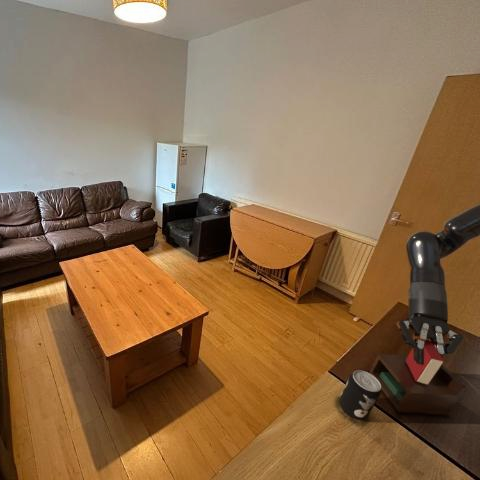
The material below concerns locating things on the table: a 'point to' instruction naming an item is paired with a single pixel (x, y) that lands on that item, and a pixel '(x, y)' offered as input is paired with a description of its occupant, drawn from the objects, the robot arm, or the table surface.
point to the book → (425, 363)
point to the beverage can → (360, 395)
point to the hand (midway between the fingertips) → (428, 366)
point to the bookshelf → (415, 386)
